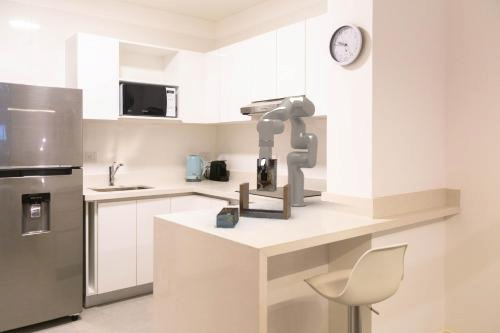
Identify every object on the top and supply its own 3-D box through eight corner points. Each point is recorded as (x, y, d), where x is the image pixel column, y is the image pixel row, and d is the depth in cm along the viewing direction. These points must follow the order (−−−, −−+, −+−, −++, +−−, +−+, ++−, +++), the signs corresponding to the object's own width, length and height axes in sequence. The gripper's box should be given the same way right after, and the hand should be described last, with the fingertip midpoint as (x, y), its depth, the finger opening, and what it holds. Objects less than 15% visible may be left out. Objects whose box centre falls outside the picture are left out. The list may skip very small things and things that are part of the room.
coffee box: (256, 191, 205) (256, 158, 204) (259, 189, 211) (259, 158, 210) (274, 192, 202) (274, 159, 201) (277, 190, 208) (277, 158, 207)
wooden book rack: (245, 213, 216) (245, 182, 215) (290, 215, 210) (291, 184, 209) (239, 216, 206) (239, 184, 205) (287, 219, 199) (287, 186, 198)
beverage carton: (215, 228, 179) (215, 213, 179) (222, 220, 198) (222, 206, 198) (233, 228, 178) (233, 213, 178) (239, 220, 197) (239, 206, 197)
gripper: (262, 144, 215) (262, 178, 216) (254, 144, 198) (254, 181, 199) (277, 144, 213) (276, 179, 214) (269, 144, 196) (269, 182, 197)
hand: (265, 179), depth 207 cm, fingers closed on coffee box, 6 cm apart
